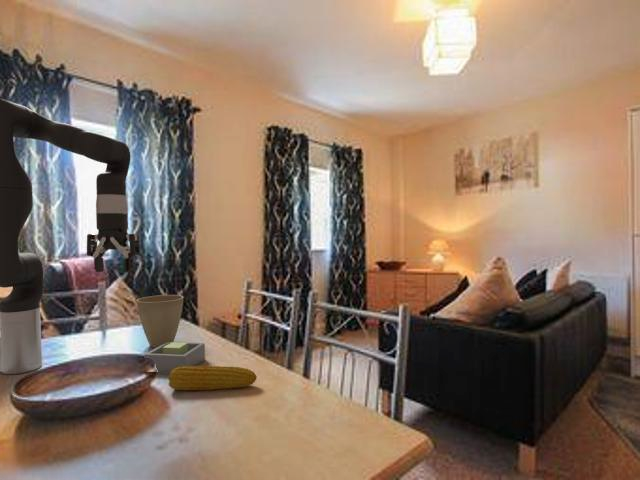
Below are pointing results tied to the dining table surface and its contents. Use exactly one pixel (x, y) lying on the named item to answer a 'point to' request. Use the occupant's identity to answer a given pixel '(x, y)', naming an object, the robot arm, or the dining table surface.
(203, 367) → the food
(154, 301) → the plant pot
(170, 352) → the green block
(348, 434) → the dining table surface
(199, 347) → the bin
